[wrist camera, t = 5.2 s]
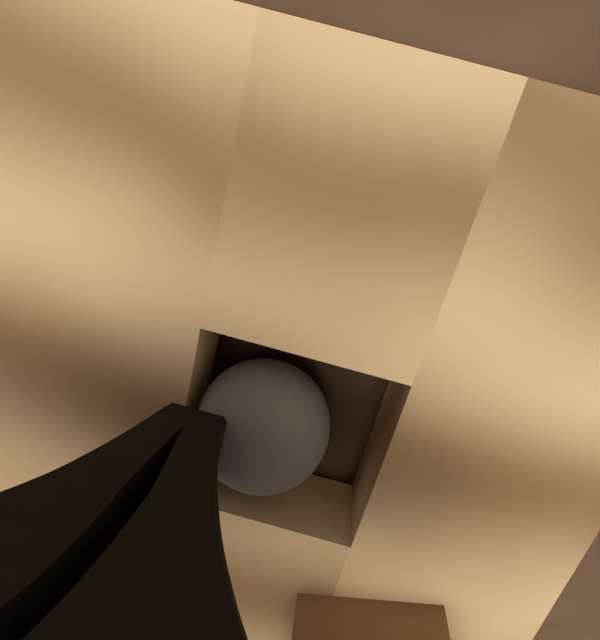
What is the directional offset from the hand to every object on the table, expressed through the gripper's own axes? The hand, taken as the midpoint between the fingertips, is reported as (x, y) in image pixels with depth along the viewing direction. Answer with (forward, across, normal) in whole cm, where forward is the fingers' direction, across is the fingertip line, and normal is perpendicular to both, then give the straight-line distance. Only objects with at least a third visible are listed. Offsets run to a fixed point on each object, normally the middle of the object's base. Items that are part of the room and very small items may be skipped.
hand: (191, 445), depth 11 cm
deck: (+3, +3, 0) cm, 5 cm away
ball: (+2, -1, 0) cm, 2 cm away
